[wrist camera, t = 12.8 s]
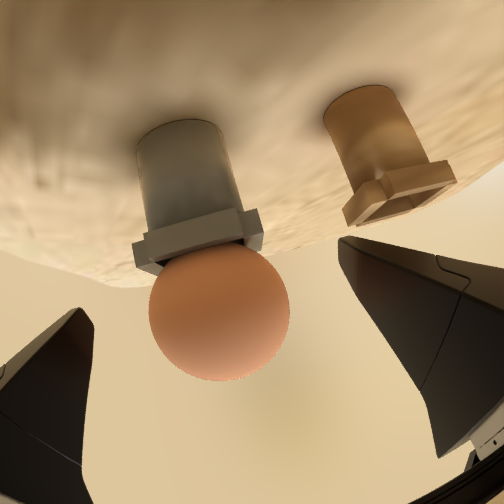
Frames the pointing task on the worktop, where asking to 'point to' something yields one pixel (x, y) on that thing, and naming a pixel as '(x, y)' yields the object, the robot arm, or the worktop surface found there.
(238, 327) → the peach ball
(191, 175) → the slate cup
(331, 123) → the oak cup
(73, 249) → the worktop surface
